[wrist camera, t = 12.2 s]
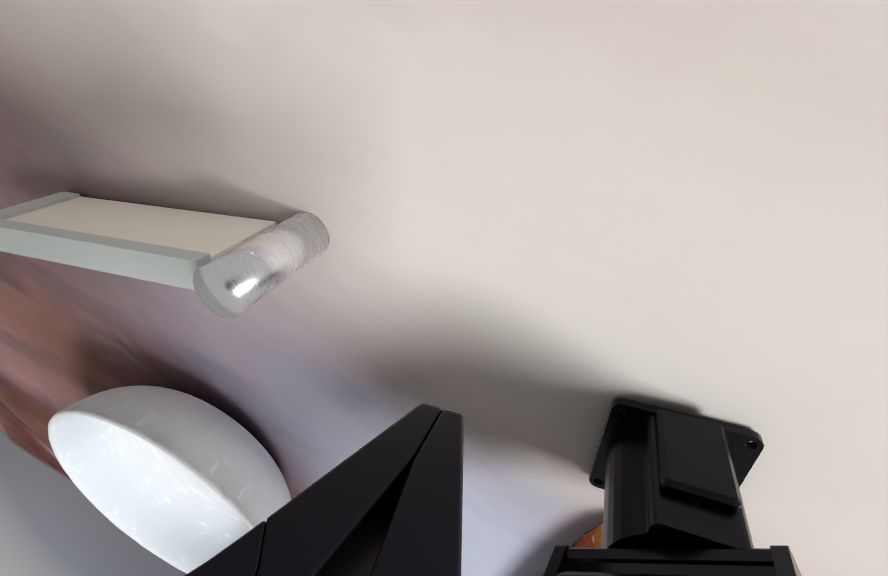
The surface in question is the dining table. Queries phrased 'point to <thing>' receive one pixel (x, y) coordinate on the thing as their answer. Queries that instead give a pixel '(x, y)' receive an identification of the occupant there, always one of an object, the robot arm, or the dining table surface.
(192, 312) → the dining table surface
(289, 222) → the hinge post
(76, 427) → the serving bowl
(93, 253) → the bar
